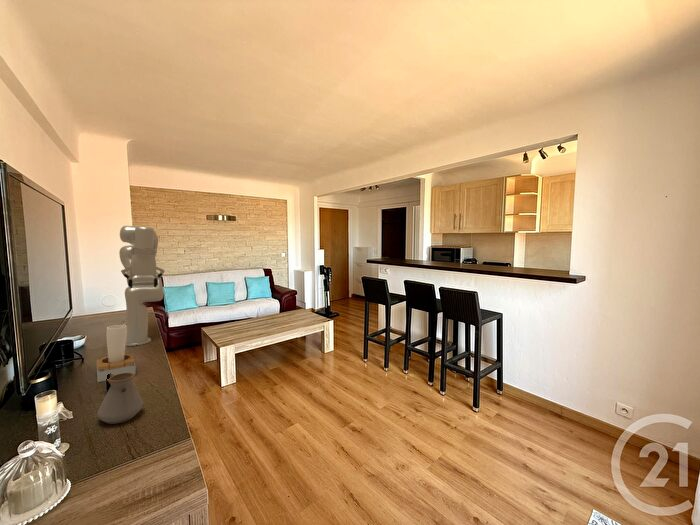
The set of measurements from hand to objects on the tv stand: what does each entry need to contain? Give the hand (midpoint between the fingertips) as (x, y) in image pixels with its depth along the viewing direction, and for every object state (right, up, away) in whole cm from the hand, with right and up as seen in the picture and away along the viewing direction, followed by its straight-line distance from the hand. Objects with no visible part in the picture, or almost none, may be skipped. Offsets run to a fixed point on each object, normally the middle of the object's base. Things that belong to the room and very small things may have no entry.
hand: (143, 287), depth 141 cm
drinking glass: (+2, -30, -19) cm, 36 cm away
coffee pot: (+31, -37, -53) cm, 72 cm away
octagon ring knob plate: (+2, -34, -19) cm, 39 cm away
